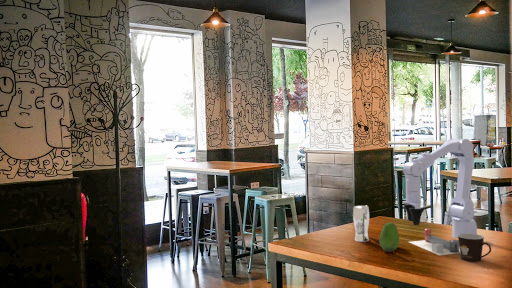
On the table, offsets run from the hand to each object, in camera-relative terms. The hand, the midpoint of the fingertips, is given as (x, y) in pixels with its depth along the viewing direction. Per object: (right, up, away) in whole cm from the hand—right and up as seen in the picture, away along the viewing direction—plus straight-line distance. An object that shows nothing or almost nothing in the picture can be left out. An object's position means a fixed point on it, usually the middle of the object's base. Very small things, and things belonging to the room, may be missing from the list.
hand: (413, 223), depth 204 cm
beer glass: (-19, -10, +13) cm, 25 cm away
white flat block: (+9, -10, -7) cm, 15 cm away
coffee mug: (+13, -11, -27) cm, 32 cm away
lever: (+9, -8, -7) cm, 14 cm away
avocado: (-12, -11, -7) cm, 17 cm away
